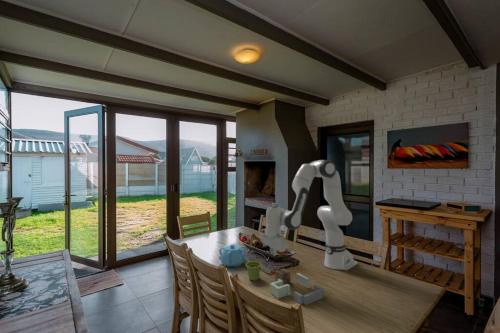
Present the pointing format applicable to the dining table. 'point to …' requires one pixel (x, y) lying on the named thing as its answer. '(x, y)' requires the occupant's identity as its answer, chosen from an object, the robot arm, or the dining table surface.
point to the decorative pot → (232, 255)
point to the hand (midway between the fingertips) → (273, 254)
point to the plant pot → (253, 270)
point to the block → (283, 276)
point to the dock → (309, 296)
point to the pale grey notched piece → (287, 286)
